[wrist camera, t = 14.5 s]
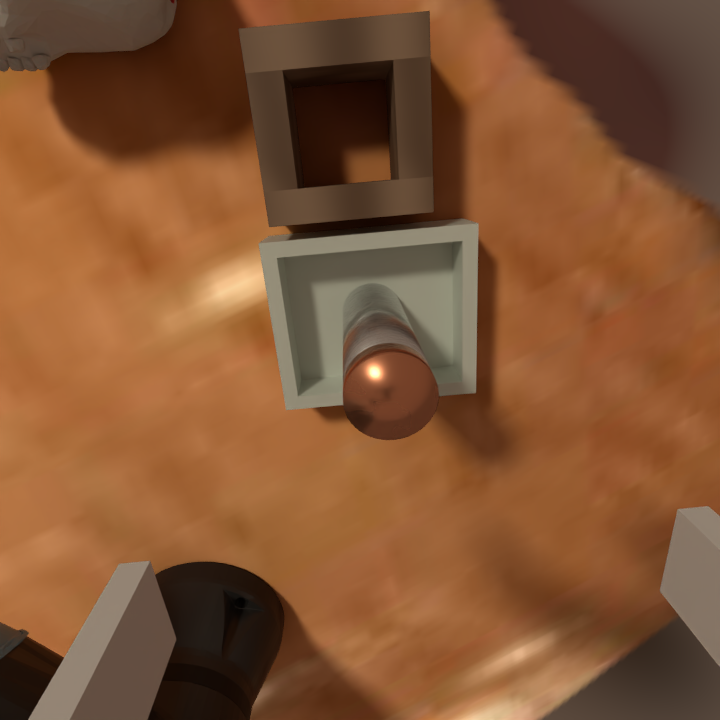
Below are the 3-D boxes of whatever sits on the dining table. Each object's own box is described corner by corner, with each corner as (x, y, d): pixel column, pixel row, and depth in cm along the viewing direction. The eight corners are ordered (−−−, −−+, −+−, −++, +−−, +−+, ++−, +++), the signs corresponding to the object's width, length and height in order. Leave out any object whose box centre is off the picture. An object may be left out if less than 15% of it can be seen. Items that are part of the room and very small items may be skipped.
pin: (345, 342, 34) (347, 443, 21) (339, 285, 32) (338, 358, 20) (402, 337, 34) (439, 435, 21) (399, 280, 32) (438, 349, 20)
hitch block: (280, 220, 32) (269, 227, 27) (256, 53, 28) (238, 28, 23) (420, 207, 32) (433, 212, 27) (415, 39, 28) (429, 10, 23)
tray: (292, 386, 37) (286, 410, 33) (268, 235, 32) (258, 243, 28) (462, 371, 36) (476, 392, 33) (462, 218, 32) (478, 223, 28)
